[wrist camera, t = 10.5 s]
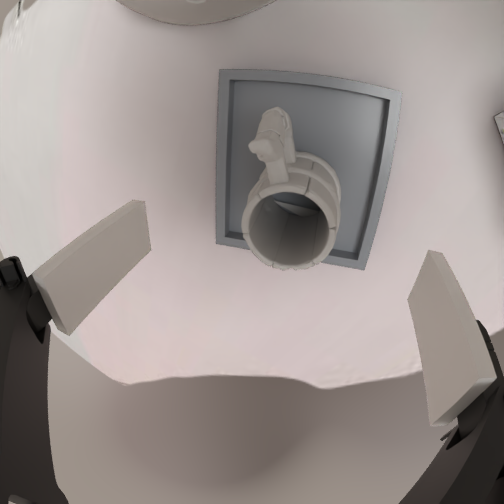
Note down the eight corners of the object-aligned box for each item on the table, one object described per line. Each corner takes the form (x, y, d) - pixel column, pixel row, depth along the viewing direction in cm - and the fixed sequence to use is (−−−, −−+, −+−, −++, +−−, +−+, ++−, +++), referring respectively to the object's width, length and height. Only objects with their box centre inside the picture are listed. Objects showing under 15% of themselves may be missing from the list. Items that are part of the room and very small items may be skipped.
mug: (271, 227, 29) (239, 301, 19) (243, 116, 24) (183, 129, 14) (344, 219, 27) (352, 294, 17) (323, 100, 21) (323, 94, 11)
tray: (228, 72, 23) (219, 69, 21) (395, 93, 20) (402, 92, 18) (223, 233, 32) (215, 243, 30) (362, 257, 29) (364, 270, 27)
